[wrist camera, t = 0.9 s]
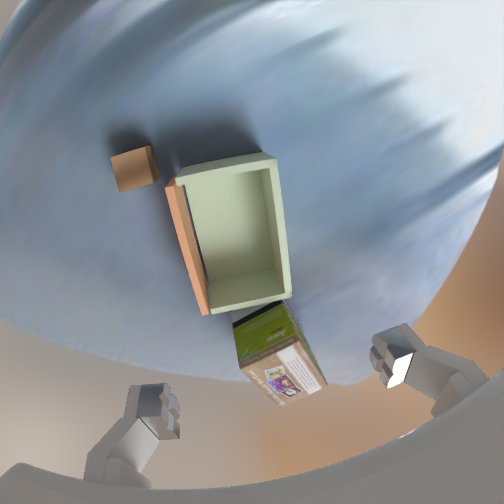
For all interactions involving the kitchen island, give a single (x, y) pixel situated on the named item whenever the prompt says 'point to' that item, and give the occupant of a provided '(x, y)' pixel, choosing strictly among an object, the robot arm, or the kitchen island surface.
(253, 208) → the box
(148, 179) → the walnut block
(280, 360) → the tea box
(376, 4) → the kitchen island surface
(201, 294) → the board
